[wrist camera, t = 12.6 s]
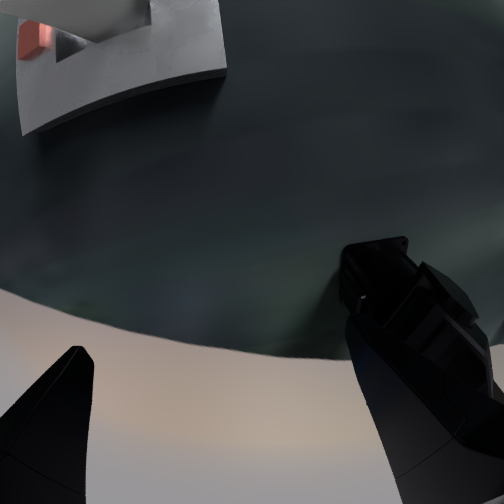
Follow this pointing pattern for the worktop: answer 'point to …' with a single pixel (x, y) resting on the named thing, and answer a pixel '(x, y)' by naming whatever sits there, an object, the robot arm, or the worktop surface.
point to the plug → (81, 15)
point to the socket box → (114, 62)
